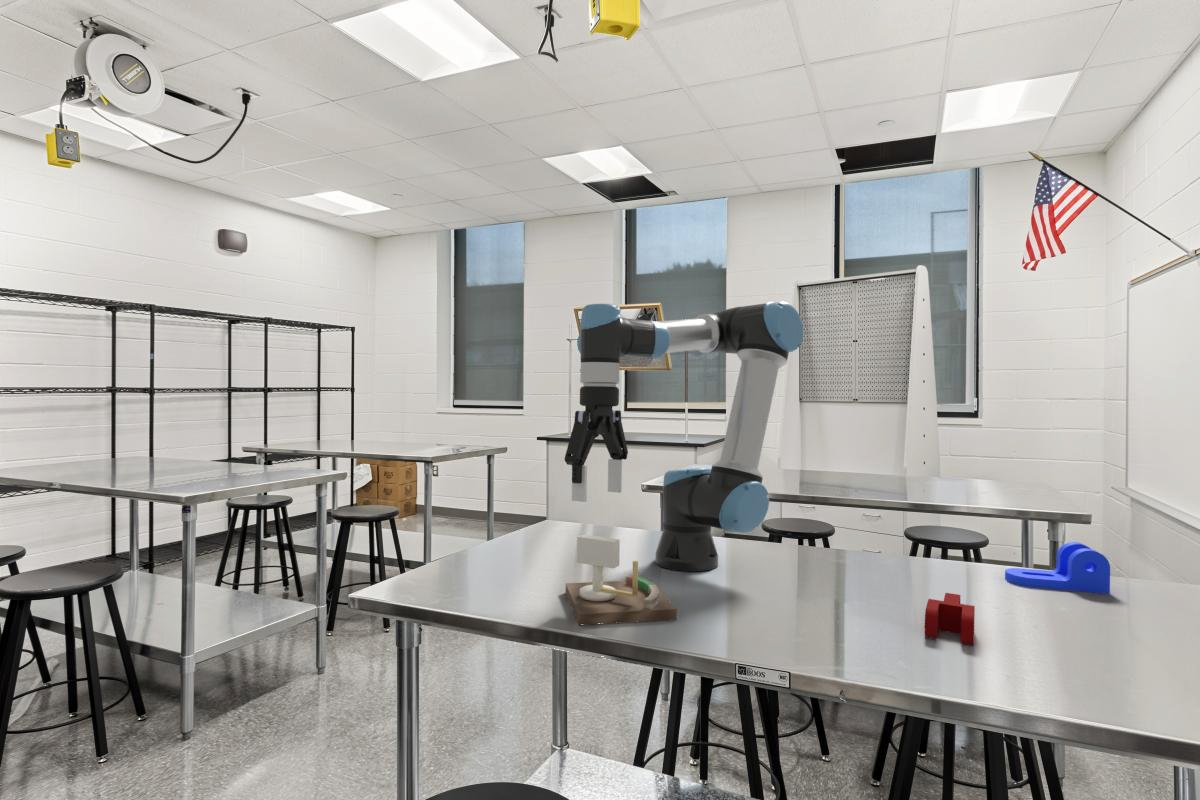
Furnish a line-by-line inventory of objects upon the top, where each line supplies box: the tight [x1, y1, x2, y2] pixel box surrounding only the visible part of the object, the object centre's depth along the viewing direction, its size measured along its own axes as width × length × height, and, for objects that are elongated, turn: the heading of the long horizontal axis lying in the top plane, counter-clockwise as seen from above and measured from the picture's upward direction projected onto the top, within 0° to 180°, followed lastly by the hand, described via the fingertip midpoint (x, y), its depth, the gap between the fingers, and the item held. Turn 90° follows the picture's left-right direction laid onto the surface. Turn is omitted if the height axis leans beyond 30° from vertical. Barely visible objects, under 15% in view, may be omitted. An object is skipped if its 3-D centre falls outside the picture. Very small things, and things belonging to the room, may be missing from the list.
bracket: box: [1004, 541, 1111, 595], centre depth 140 cm, size 18×8×9 cm, turn 72°
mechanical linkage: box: [924, 592, 976, 647], centre depth 113 cm, size 16×7×5 cm, turn 149°
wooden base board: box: [565, 574, 678, 626], centre depth 123 cm, size 18×18×4 cm
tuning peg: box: [576, 534, 639, 601], centre depth 121 cm, size 7×12×11 cm, turn 60°
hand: (597, 496), depth 122 cm, fingers open, 13 cm apart
